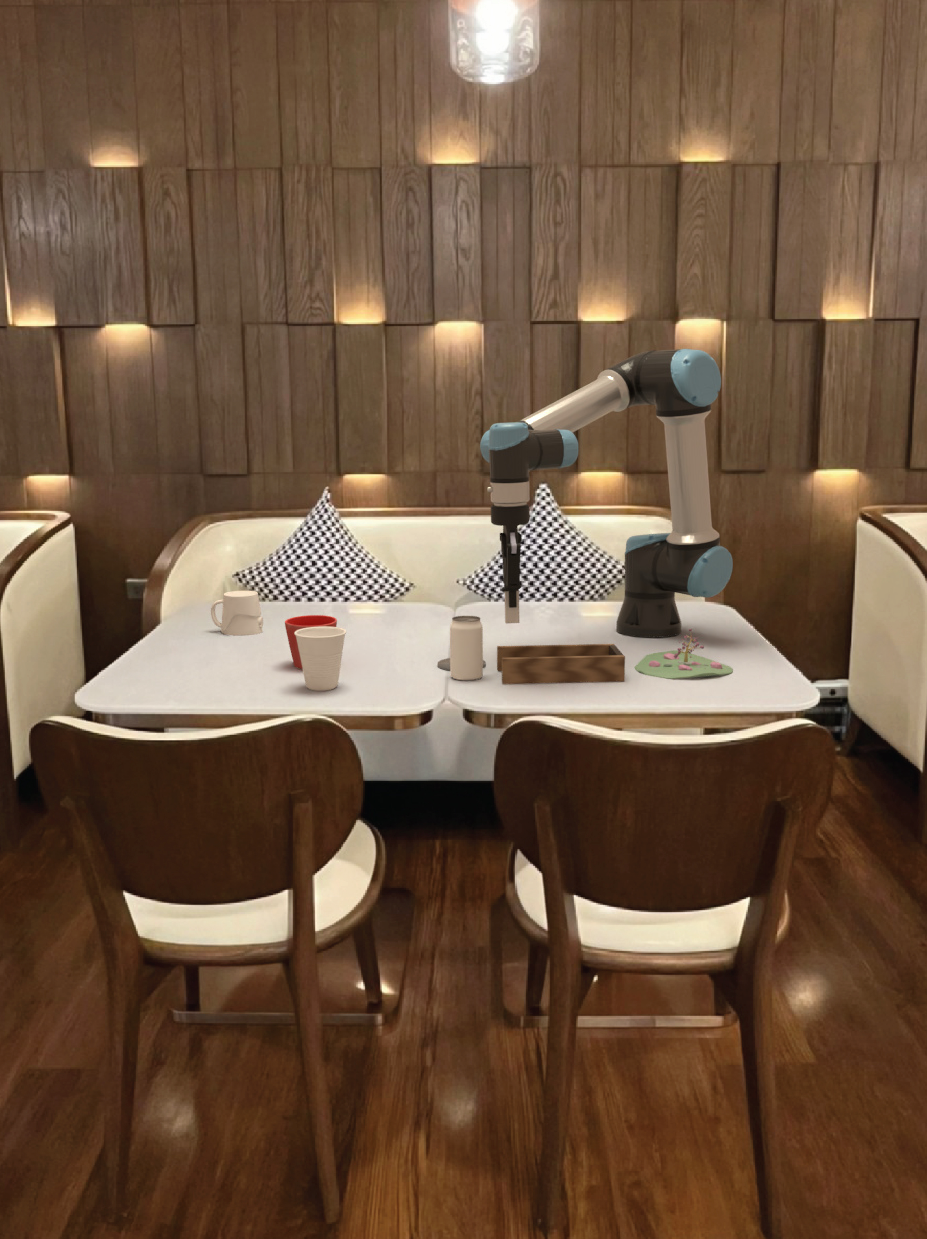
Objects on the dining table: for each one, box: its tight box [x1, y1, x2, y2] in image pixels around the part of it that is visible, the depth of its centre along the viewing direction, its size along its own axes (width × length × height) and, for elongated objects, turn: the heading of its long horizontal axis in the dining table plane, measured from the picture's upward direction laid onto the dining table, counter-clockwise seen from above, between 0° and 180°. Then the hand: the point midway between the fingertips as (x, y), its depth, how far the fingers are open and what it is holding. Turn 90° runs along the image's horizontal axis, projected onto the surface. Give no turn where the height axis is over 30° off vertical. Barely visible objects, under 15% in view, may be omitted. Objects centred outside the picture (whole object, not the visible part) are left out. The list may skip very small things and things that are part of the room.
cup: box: [294, 626, 347, 692], centre depth 221 cm, size 10×10×11 cm
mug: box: [210, 590, 264, 637], centre depth 272 cm, size 12×9×8 cm
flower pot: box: [284, 614, 338, 670], centre depth 239 cm, size 11×11×10 cm
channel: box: [496, 643, 626, 685], centre depth 230 cm, size 24×11×5 cm, turn 94°
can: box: [449, 615, 484, 682], centre depth 228 cm, size 6×6×12 cm
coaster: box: [437, 657, 487, 672], centre depth 239 cm, size 10×10×1 cm
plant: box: [634, 628, 734, 680], centre depth 238 cm, size 25×21×9 cm
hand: (512, 622), depth 228 cm, fingers closed
